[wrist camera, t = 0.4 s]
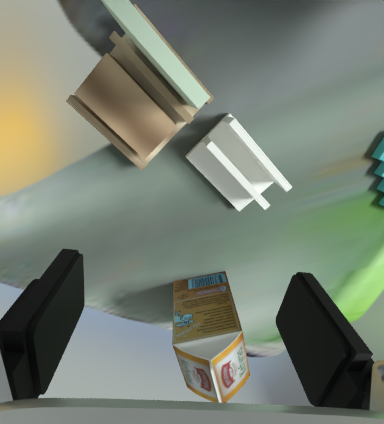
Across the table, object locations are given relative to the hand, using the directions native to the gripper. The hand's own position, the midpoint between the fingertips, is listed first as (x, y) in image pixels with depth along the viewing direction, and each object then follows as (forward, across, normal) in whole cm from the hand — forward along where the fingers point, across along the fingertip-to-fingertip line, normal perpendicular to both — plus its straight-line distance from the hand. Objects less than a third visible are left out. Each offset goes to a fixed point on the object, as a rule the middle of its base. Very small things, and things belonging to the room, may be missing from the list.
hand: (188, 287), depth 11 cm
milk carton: (+31, -9, +29) cm, 43 cm away
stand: (+31, -9, +1) cm, 32 cm away
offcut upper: (+27, +8, -5) cm, 29 cm away
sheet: (+30, +4, -10) cm, 32 cm away
